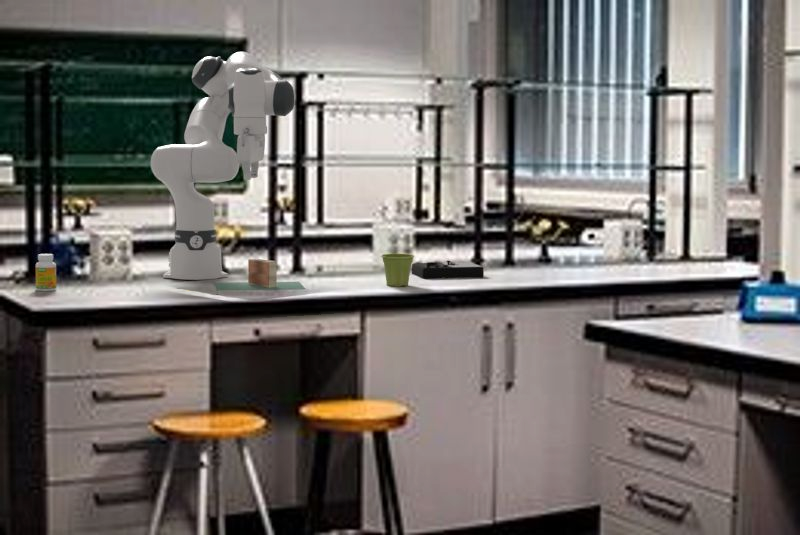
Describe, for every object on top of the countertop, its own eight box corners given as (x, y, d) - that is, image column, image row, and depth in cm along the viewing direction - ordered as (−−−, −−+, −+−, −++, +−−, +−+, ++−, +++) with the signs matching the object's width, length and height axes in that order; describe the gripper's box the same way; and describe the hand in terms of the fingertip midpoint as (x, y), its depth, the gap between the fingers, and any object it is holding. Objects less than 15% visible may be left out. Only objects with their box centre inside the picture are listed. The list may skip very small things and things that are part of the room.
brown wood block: (247, 284, 359) (247, 259, 359) (255, 283, 361) (255, 258, 361) (269, 287, 353) (269, 262, 352) (276, 286, 355) (276, 261, 354)
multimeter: (411, 275, 399) (411, 258, 398) (470, 273, 404) (470, 257, 403) (422, 280, 386) (423, 263, 386) (484, 278, 391) (484, 262, 391)
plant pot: (411, 288, 365) (411, 257, 364) (378, 287, 367) (378, 256, 366) (416, 284, 374) (416, 254, 373) (384, 282, 376) (384, 253, 375)
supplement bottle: (35, 291, 348) (34, 255, 347) (36, 289, 354) (35, 253, 352) (56, 291, 350) (55, 255, 348) (56, 288, 355) (56, 253, 354)
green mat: (213, 286, 362) (213, 282, 362) (298, 285, 367) (298, 281, 367) (216, 294, 347) (216, 290, 347) (305, 293, 351) (305, 289, 351)
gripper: (254, 129, 343) (255, 181, 344) (268, 127, 363) (268, 176, 365) (230, 129, 343) (231, 181, 345) (246, 127, 363) (246, 176, 365)
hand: (250, 178), depth 355 cm, fingers open, 8 cm apart
